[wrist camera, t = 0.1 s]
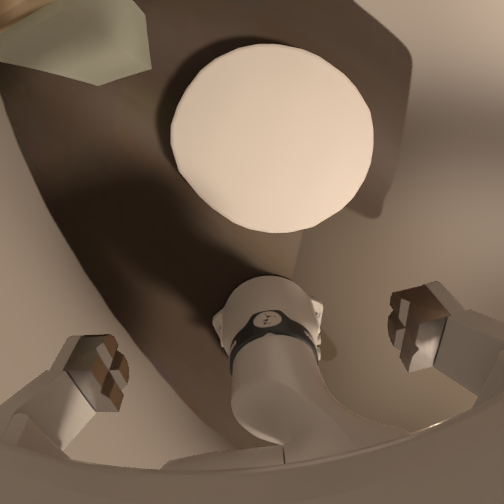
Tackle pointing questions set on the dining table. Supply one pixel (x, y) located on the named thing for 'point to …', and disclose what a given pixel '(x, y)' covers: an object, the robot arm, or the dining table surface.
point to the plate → (273, 137)
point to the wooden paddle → (18, 11)
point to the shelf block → (81, 40)
